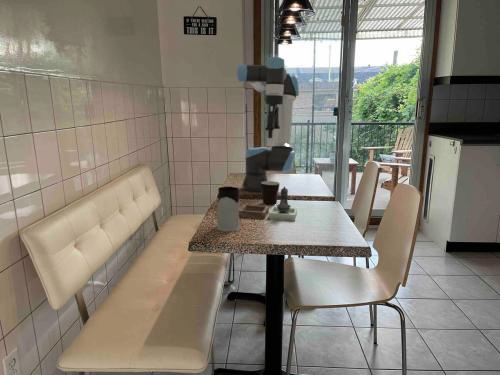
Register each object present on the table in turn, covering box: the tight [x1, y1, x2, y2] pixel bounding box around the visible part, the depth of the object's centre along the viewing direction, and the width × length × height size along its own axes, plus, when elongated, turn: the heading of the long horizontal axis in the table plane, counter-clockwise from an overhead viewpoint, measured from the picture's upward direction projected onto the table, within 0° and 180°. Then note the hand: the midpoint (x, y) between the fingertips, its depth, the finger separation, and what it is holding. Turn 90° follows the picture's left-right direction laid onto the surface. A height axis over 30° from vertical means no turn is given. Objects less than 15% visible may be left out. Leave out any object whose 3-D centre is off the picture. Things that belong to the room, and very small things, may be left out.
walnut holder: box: [239, 204, 270, 219], centre depth 161 cm, size 11×11×2 cm
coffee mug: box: [261, 180, 281, 206], centre depth 180 cm, size 12×9×10 cm
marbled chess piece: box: [276, 185, 292, 214], centre depth 157 cm, size 6×6×12 cm
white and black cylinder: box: [216, 186, 240, 232], centre depth 143 cm, size 9×14×15 cm, turn 172°
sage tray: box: [268, 206, 298, 222], centre depth 158 cm, size 11×11×2 cm
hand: (272, 144), depth 167 cm, fingers open, 13 cm apart
